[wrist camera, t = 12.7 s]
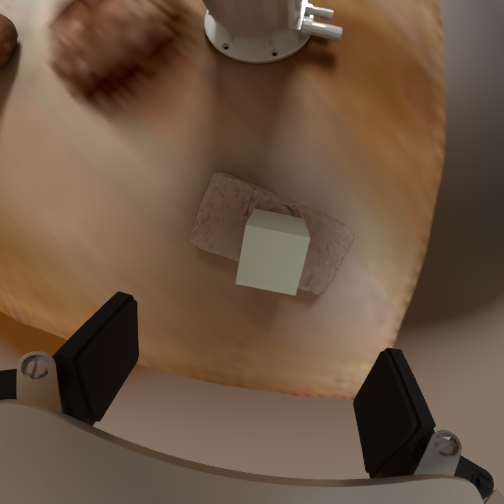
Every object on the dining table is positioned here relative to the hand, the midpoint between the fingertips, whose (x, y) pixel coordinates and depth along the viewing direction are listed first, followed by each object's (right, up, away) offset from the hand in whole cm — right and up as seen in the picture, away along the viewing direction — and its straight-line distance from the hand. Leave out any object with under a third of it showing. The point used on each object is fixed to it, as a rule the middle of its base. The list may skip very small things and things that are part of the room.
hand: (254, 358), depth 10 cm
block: (+2, +5, +19) cm, 20 cm away
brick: (+2, +7, +24) cm, 25 cm away
